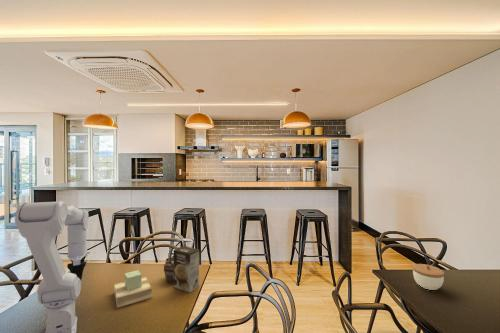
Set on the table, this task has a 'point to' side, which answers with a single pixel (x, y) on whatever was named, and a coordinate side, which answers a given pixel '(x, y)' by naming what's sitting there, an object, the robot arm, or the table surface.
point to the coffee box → (186, 268)
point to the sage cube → (132, 280)
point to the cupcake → (169, 269)
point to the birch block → (132, 293)
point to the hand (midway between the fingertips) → (78, 277)
